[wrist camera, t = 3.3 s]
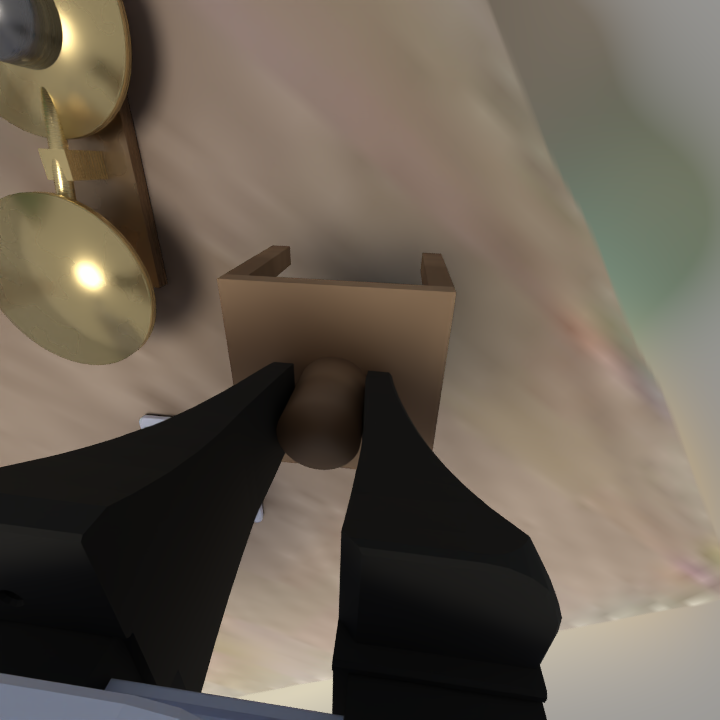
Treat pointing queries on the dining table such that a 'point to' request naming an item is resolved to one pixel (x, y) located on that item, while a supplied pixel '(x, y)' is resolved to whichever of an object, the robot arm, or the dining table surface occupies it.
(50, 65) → the balance
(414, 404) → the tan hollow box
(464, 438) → the dining table surface
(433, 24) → the dining table surface
